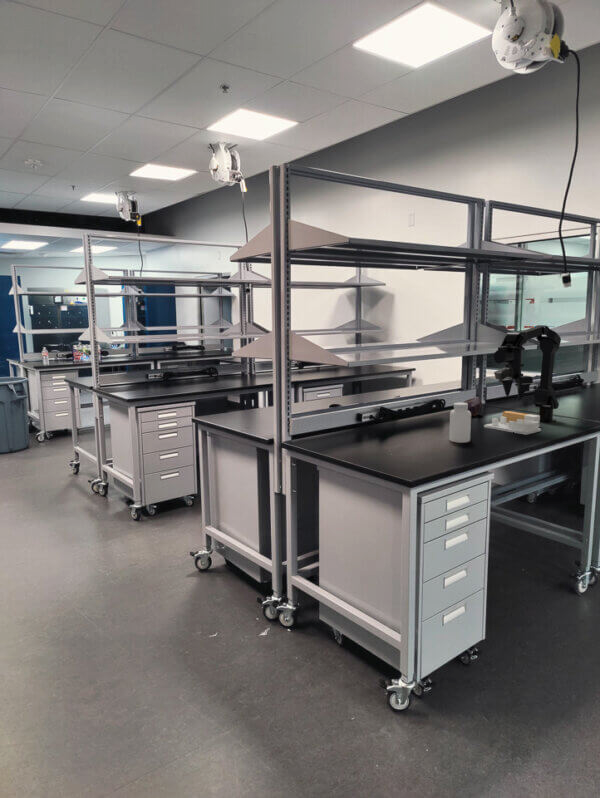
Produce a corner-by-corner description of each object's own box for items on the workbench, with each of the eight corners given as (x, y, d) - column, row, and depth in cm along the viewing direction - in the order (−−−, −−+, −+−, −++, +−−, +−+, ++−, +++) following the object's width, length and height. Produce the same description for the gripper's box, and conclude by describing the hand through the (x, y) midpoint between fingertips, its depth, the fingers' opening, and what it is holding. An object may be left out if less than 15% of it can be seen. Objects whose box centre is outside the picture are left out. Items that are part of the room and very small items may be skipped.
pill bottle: (455, 443, 208) (456, 405, 206) (445, 439, 216) (446, 402, 213) (474, 442, 210) (475, 404, 207) (463, 437, 217) (465, 401, 215)
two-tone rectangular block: (507, 421, 247) (507, 410, 246) (539, 426, 235) (539, 415, 234) (501, 422, 245) (502, 412, 244) (533, 428, 232) (534, 417, 231)
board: (498, 423, 243) (499, 415, 242) (540, 431, 227) (541, 421, 226) (484, 427, 236) (484, 418, 236) (526, 434, 220) (526, 425, 220)
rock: (457, 418, 263) (477, 420, 256) (456, 401, 261) (475, 403, 254) (468, 411, 271) (487, 413, 264) (467, 395, 269) (486, 396, 262)
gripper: (485, 360, 237) (484, 395, 239) (509, 364, 219) (508, 402, 221) (508, 359, 239) (507, 393, 241) (534, 363, 221) (533, 400, 223)
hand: (513, 397), depth 232 cm, fingers open, 9 cm apart
